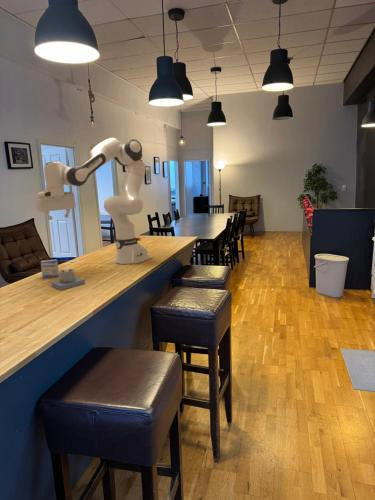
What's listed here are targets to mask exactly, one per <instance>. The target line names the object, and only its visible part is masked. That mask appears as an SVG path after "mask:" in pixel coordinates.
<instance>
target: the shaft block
mask: <svg viewBox="0 0 375 500" xmlns="http://www.w3.org/2000/svg"><path fill="white" fill-rule="evenodd" d="M69 269H70V268H66V270H65V269H63V270H64V272H69ZM50 283H51V284H50V285H51V287H53V288H56V289H57V290H60V291H64V290H68V289H71V288H74V287H79V286H81V285H85V284H86V281H85V279H84V278H81V277H77V276H75V281H73V282H70V283H62V282H60V279H59V280H53V281H51V282H50Z"/></svg>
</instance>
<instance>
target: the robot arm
mask: <svg viewBox="0 0 375 500" xmlns="http://www.w3.org/2000/svg"><path fill="white" fill-rule="evenodd" d="M142 158H143V146H142V144H141V142H140V141H139V140H137V139H129V140H127V141H126V142H125V143H124V144H122V143H121V142H120V141H119V140H118V139H117V138H115V137H110V138H107V139H105V140H103V141H101V142H100V143H98V144H96V145H95V146H94V147H93V148H92V149H91V150H90V159H87V161H86V162H85V163H83V164H82V165H76V166H71V167H70V166H67V165H65V164H63V163H62V162H61V161H59V160H53V161H49V162H48V161H47V162H45V164H44V169H43V171H44V172H43V175H44V180H45V190H42V191H40V192H38V193H37V199H36V208H37V211H38V212H40V213H44V214H45V215H46V217H47V220H48V221H51V220H53V216H51V215H50V212H53V211H63V210H65V211H66V212H65V214H64V218H66V219H67V218H70V216H69V215H70V213H71V209H72V210H73V209H74V210H75V209H76V207H77V205H76V200H75V194H74V193H73V192H72V191H65V186H71V187H72V186H74V187H82V186H83V185H85V184H86V183H87V181H88V180H89V177H90V176H91V175H92V174H93V173H94V172H96V171H97V170H99V168H101V167H102V166H105V165H106V164H107V163H109V162H110V161H112V160H113V159H114V160H115V161H116V162H117V163H118V165H120V166H121V167H127V169H126V171H125V173H124V176H123V178H122V181H121V183H120V186H121V188H122V190H123V194H122V195H113V196H109V197H106V199H104V201H103V208H104V211H105V212H107V213H108V215H109V216H110V218H111V220H112V222H113V224H114V230H115V247H116V253H115V254H116V255H115V261H114V262H115V263H116V264H121V265H122V264H123V265H128V264H139V263H142V262H145V261H147V260H150V259H153V257H152V256H151V255H149V254H148V250H147V248H146V247H144V246H143V245H142V244H140V243H139V242H140V241H141V240H142V238H141V237H136V234H135V233H136V232H135V225H134V223H133V222H132V221H131V220H130V219H129V217H128V216H134V215H138V214H140V213H142V210H143V207H144V205H143V200H142V199H141V198H140V189H141V186H142V183H143V181H144V178H145V175H146V168H147V166H146V164H145V162H143V161H142V160H141V159H142Z"/></svg>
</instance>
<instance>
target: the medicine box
mask: <svg viewBox="0 0 375 500" xmlns="http://www.w3.org/2000/svg"><path fill="white" fill-rule="evenodd" d="M40 268H41V276H42V279H49V278H57V277H60V275H59V272H60V270H59V263H58V259H56V258H55V259H47V260H41V261H40Z"/></svg>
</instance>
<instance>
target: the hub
mask: <svg viewBox="0 0 375 500" xmlns="http://www.w3.org/2000/svg"><path fill="white" fill-rule="evenodd" d="M66 269H67V268H66ZM66 269H62V270H59V280H60V282H62V283H70V282H73V281H75V277H76V274H75V273H76V272H75V269H74V268H68V269H69V272H64V270H66Z"/></svg>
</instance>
